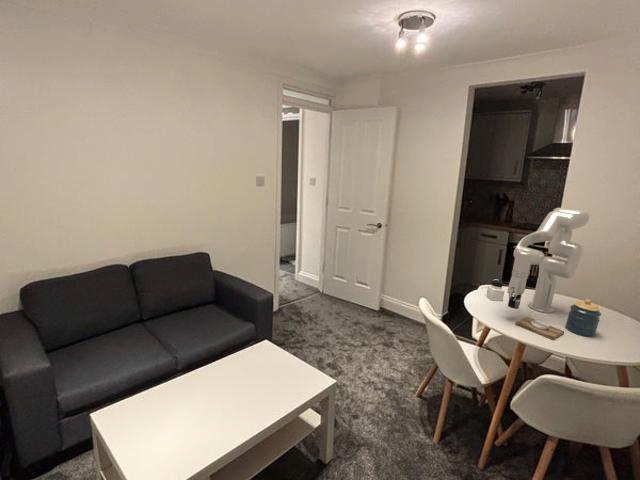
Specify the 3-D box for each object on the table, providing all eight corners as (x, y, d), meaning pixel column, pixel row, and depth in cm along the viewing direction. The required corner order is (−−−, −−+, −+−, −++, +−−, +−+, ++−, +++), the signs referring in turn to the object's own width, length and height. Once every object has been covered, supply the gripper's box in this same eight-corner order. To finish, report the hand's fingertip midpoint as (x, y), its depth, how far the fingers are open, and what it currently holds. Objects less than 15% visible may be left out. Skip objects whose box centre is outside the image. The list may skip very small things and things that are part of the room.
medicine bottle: (502, 301, 215) (506, 283, 212) (490, 300, 215) (494, 282, 212) (497, 296, 222) (500, 278, 219) (485, 295, 222) (489, 278, 219)
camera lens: (511, 304, 193) (512, 295, 192) (520, 307, 189) (522, 299, 188) (506, 306, 190) (507, 297, 189) (515, 309, 186) (517, 301, 185)
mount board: (526, 319, 192) (527, 314, 191) (563, 333, 178) (565, 328, 177) (515, 324, 184) (516, 319, 184) (553, 340, 171) (554, 334, 170)
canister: (597, 340, 175) (607, 307, 170) (566, 332, 181) (574, 300, 176) (592, 329, 186) (601, 298, 182) (563, 322, 192) (571, 292, 188)
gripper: (520, 269, 193) (514, 299, 197) (504, 274, 183) (498, 306, 188) (535, 273, 187) (528, 304, 192) (519, 278, 177) (512, 311, 182)
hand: (513, 305), depth 190 cm, fingers closed on camera lens, 5 cm apart
